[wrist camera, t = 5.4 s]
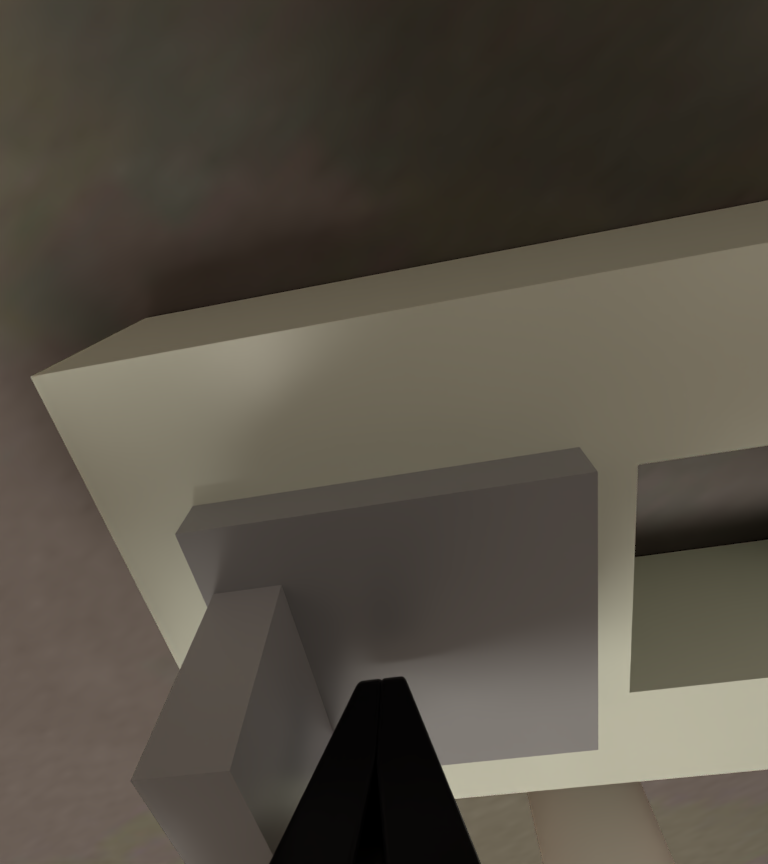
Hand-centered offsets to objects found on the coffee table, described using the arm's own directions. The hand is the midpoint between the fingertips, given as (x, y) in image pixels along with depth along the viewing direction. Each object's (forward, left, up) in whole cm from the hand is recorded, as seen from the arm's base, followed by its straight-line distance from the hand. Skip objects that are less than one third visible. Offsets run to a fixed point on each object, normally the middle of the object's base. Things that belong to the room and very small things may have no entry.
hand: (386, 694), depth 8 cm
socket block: (-4, 0, -6) cm, 7 cm away
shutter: (0, 0, -2) cm, 2 cm away
